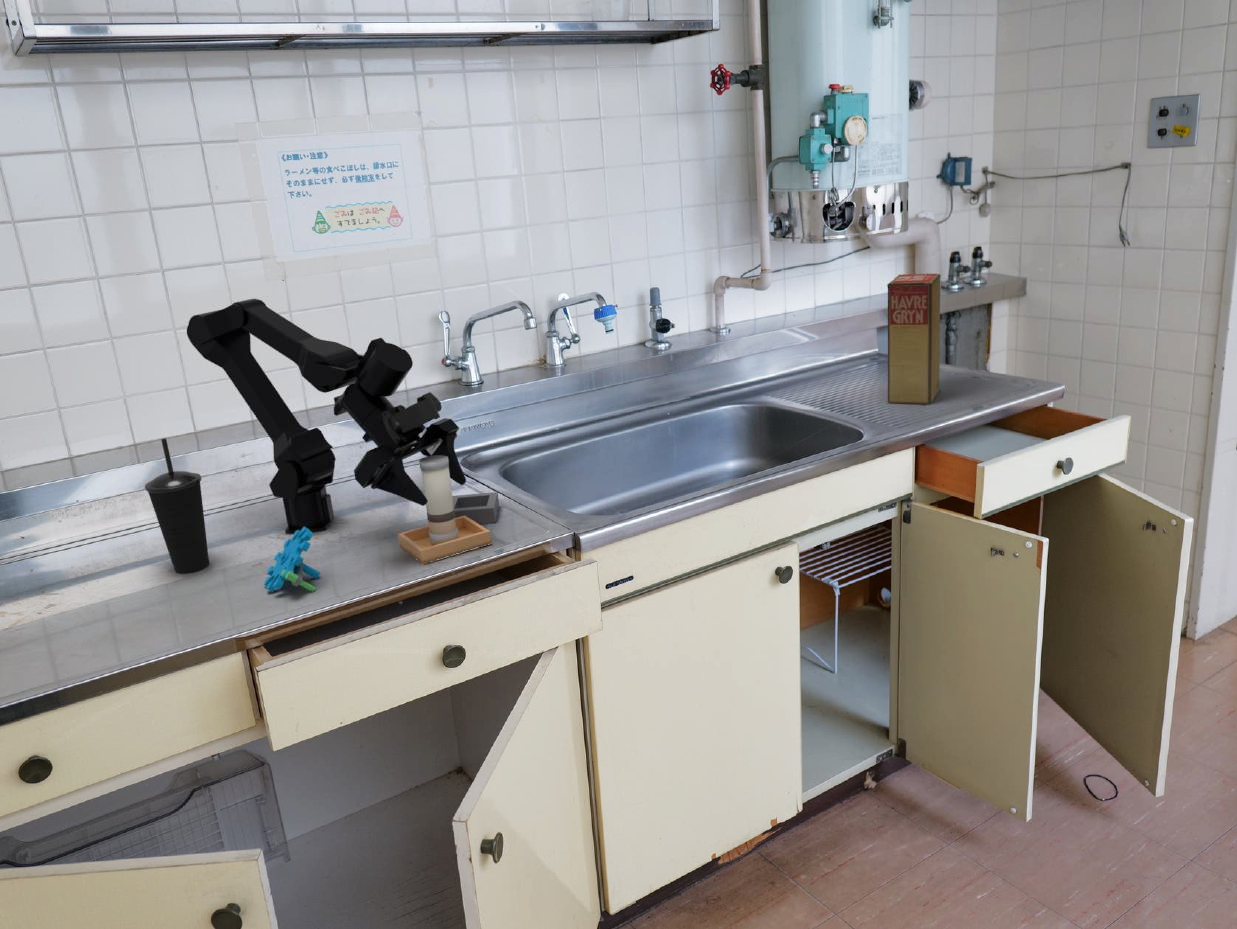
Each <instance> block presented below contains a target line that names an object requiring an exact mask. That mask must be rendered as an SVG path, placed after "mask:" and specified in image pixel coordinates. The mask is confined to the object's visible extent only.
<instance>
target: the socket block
mask: <svg viewBox="0 0 1237 929" xmlns="http://www.w3.org/2000/svg"><path fill="white" fill-rule="evenodd" d="M452 496H453V504H454V509H455V518H457V517H461V516H464V515H465V516H467V517H468V518H470V519H471V520H473V521H475V522H476V523H478V524H479V525H485V524H495V523H497V522H496V521H497V518H498V513H499V509H500V500H499V493H498V492H497V491H496V492H482V493H470V494H460V495H459V494H457V495H452Z"/></svg>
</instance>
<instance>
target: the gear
mask: <svg viewBox="0 0 1237 929" xmlns="http://www.w3.org/2000/svg"><path fill="white" fill-rule="evenodd" d="M313 534H314V533H313V531H310V530H309V529H307V528H306V527H303V528H302V530H301V531H299V530H297V531H295V533H293V535H292V537H291V539H290V538H288V539H287V540H286V541H285V542H284V544H283V550H282V552H280V551H278V552H277V554H276V555H275V556H274V558H273V559H274V561H275V562H276V563H275V565H274V566H273V565H270V567H269V568H268V570H267V572H266V575H268V577H266V579H265V581H264V584H263V585H264V586H265V587H266V588H265V589H266V590H267V591H269V592H271V593H273V592H274V591H275V590H276V589H278V590H280V589H281V588H282V587H283V586H284V583H285V580H286V581H290V584H291V585H292V586H294V587H298V586H301V587H303V588H305V589H306V590H308V591H310V592H312V593H313V592H314V591H315V589H316V587H315V586H314V585H312V584H310V583H309V582H306V580H303V577H304V574H306V575H309V576H310V577H311V578H314V579H315V580H317V579H318V578H319V577H320V575H321V572H319V571H317V570H316V569H314V568H313V567H310V566H309V565H307V564H306V563H304V557H302V556H301V555H302V552H303V551H304V552H305V553H306V552H308V550H309V549H310V547H311V544H312V543H311V542H309V541H310V540H311V539H312V537H313Z"/></svg>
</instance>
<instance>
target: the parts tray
mask: <svg viewBox="0 0 1237 929" xmlns="http://www.w3.org/2000/svg"><path fill="white" fill-rule="evenodd" d="M455 519H456V527H457V529H458V537H459V538H458V539H455V540H451V541H448V542H444V543H441V544H437V545H434V546H431V542H430V535H429V524H427V525H425V526H422V527H417V528H414V529H410V530H407V531H403V532H400V533H397V537H398V544H399V545H398V546H399V548H400V549H401V550H403V551H404V552H405V553H407V554H408V555H409V556H410V557H412V558H413V559H414V560H415V559H417V560H416V561H417V562H418V561H419V562H420V563H419V562H418V563H419V564H421V565H422V564H425V565H427V564H426V563H428V564H430V563H429V562H431V561H435V560H437V559H441V558H444V557H446V556H451V555H453V554H456V553H461V552H463V551H466V550H470V549H473V548H476V547H481V546H484V545H488V544H490V543H491V544H492V537H491V531H490V530H489V529H487V528H486V527H484V526H482V524H478V523H476V522H475V521H473V520H471V519H470V518H468V517H467V516H465V515H464V516H461V517H457V518H455ZM435 562H436V561H435ZM431 563H432V562H431Z"/></svg>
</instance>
